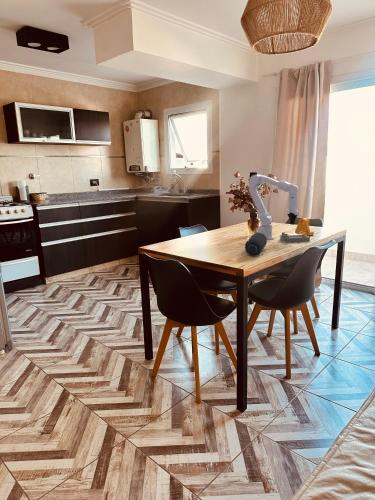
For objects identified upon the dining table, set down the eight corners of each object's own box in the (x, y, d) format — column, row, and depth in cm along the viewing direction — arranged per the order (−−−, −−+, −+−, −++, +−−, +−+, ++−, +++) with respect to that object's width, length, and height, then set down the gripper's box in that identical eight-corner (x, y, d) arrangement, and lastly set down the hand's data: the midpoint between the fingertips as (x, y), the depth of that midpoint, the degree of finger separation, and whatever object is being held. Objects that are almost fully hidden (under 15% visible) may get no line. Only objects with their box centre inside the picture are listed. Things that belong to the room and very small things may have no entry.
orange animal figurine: (314, 235, 241) (315, 218, 239) (308, 236, 237) (309, 219, 234) (300, 233, 250) (301, 216, 247) (295, 234, 245) (295, 218, 242)
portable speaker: (251, 246, 216) (251, 231, 214) (267, 247, 212) (267, 231, 210) (243, 257, 193) (243, 239, 191) (261, 258, 190) (261, 240, 187)
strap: (284, 236, 224) (284, 235, 224) (282, 236, 227) (282, 234, 227) (304, 235, 226) (304, 234, 225) (302, 235, 229) (302, 233, 228)
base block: (286, 242, 222) (286, 234, 220) (280, 239, 231) (280, 231, 230) (309, 241, 223) (310, 233, 222) (302, 238, 233) (303, 230, 232)
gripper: (303, 204, 218) (302, 225, 221) (294, 202, 232) (293, 222, 235) (292, 205, 217) (292, 226, 220) (284, 202, 231) (283, 222, 234)
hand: (292, 224), depth 228 cm, fingers closed
